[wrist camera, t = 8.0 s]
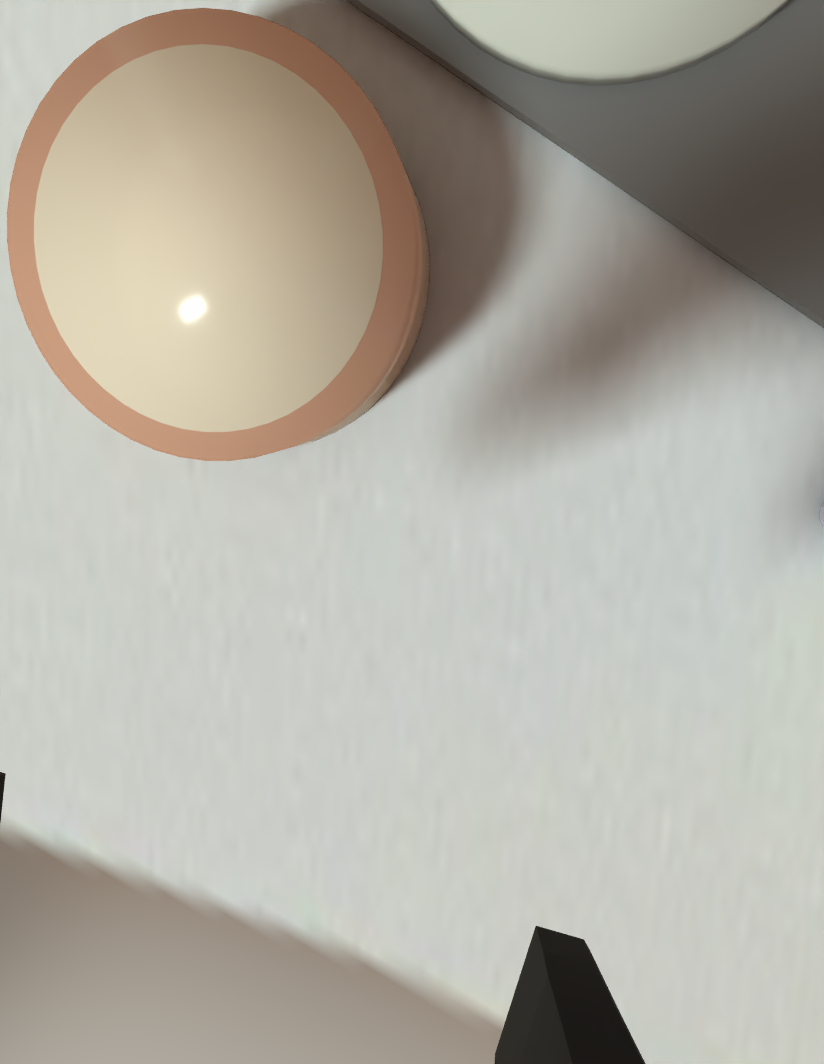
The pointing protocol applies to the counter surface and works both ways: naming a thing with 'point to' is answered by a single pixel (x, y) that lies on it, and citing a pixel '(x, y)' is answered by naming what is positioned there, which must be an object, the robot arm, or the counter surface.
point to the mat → (686, 137)
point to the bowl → (216, 237)
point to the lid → (605, 34)
